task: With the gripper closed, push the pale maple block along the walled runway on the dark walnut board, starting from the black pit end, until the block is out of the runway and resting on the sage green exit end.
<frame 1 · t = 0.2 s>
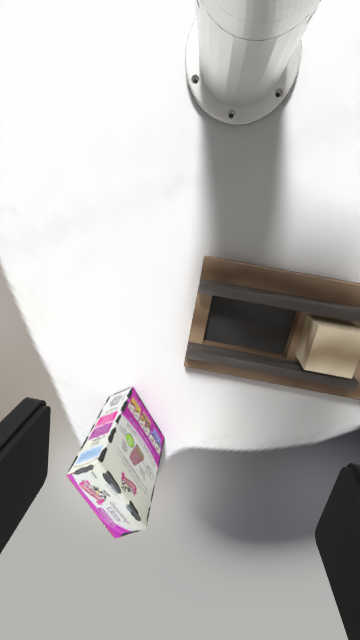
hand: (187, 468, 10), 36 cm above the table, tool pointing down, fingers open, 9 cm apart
candy bar box: (137, 416, 52), on the table
maple block: (323, 339, 43), point 2 cm above the table, touching runway board
runway board: (325, 335, 45), on the table
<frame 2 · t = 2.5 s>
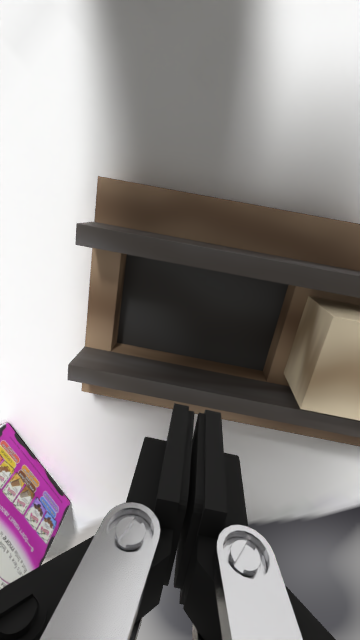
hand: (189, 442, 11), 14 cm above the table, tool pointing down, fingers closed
candy bar box: (23, 469, 32), on the table
maple block: (337, 344, 22), point 2 cm above the table, touching runway board
runway board: (340, 336, 24), on the table
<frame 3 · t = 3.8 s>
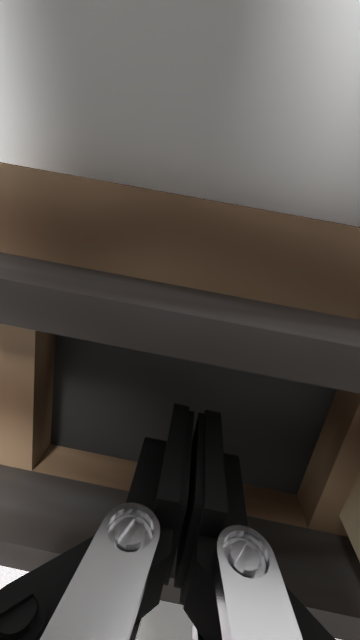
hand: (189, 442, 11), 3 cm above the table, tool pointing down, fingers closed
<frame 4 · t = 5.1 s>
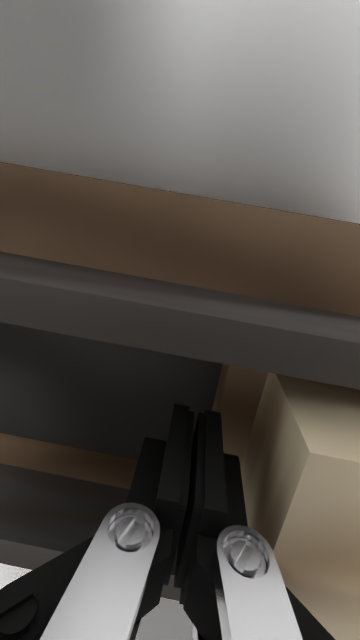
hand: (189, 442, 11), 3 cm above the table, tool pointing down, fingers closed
maple block: (328, 447, 12), point 2 cm above the table, touching gripper
runway board: (325, 418, 14), on the table
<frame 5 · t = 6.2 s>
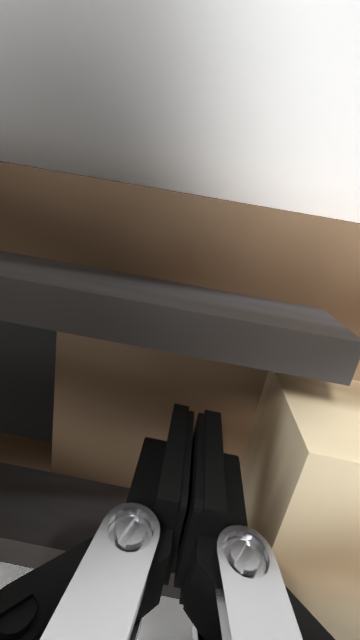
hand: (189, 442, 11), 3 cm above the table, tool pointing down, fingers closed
maple block: (326, 448, 12), point 2 cm above the table, touching gripper
runway board: (183, 390, 14), on the table
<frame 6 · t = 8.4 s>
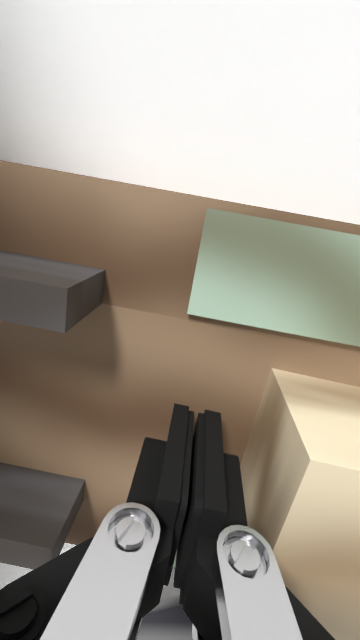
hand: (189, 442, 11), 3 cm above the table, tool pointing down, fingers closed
maple block: (325, 453, 12), point 2 cm above the table, touching gripper, runway board
runway board: (22, 359, 14), on the table
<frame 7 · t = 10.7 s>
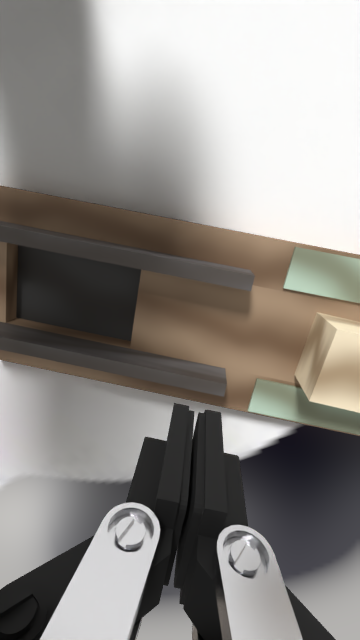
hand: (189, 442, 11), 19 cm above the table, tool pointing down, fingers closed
maple block: (339, 352, 27), point 2 cm above the table, touching runway board
runway board: (192, 312, 30), on the table
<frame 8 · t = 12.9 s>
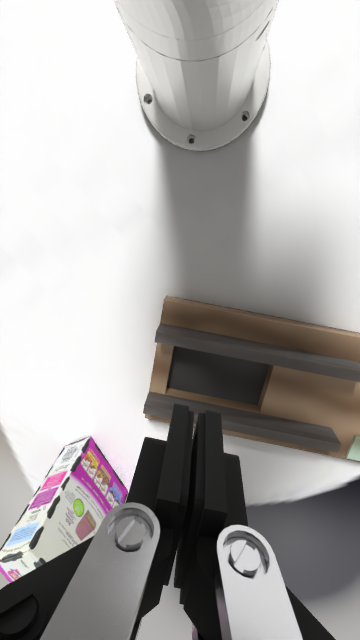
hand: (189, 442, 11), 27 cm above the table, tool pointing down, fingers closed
candy bar box: (97, 468, 47), on the table
runway board: (304, 385, 40), on the table
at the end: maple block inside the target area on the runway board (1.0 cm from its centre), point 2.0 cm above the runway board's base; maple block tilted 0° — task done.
